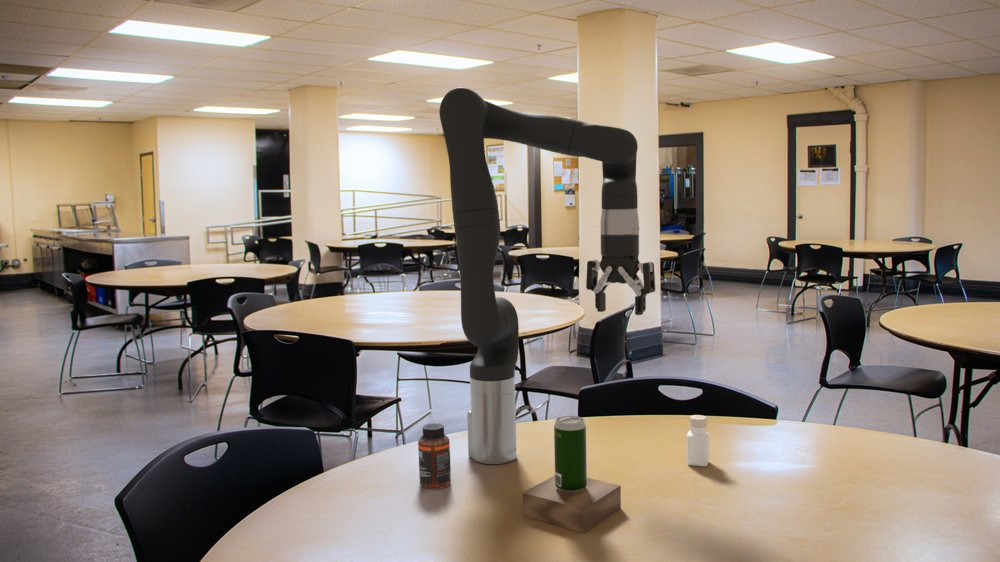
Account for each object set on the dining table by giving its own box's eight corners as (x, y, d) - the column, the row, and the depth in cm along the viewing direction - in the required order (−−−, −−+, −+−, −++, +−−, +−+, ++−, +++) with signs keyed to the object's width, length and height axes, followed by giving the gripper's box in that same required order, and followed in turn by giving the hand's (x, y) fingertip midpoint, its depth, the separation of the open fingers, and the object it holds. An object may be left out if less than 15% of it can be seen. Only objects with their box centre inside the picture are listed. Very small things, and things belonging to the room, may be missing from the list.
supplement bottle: (456, 481, 144) (455, 423, 142) (441, 492, 138) (439, 432, 137) (429, 476, 146) (427, 420, 145) (413, 487, 141) (411, 428, 140)
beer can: (568, 497, 124) (567, 426, 123) (548, 487, 129) (547, 419, 127) (593, 489, 127) (592, 420, 126) (573, 480, 132) (572, 413, 130)
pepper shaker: (686, 465, 149) (686, 419, 148) (689, 459, 153) (689, 413, 152) (707, 468, 147) (707, 420, 146) (709, 461, 151) (709, 415, 150)
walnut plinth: (523, 515, 127) (522, 492, 127) (562, 492, 137) (561, 471, 136) (584, 533, 120) (583, 509, 119) (620, 508, 129) (620, 485, 129)
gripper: (578, 232, 150) (579, 313, 152) (643, 233, 142) (643, 318, 143) (598, 231, 156) (598, 308, 158) (661, 231, 148) (661, 313, 149)
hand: (620, 313), depth 151 cm, fingers open, 8 cm apart
